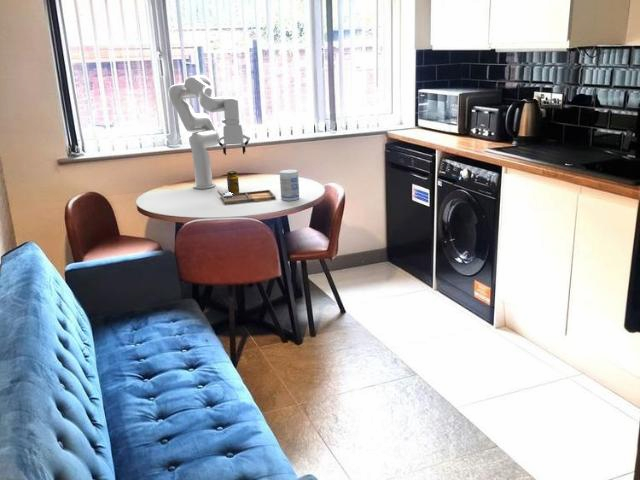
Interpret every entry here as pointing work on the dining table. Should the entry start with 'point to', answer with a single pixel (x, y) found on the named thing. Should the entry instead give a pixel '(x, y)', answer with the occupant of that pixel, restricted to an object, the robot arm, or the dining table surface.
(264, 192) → the divided wooden tray
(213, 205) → the dining table surface
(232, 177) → the condiment
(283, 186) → the supplement tub
